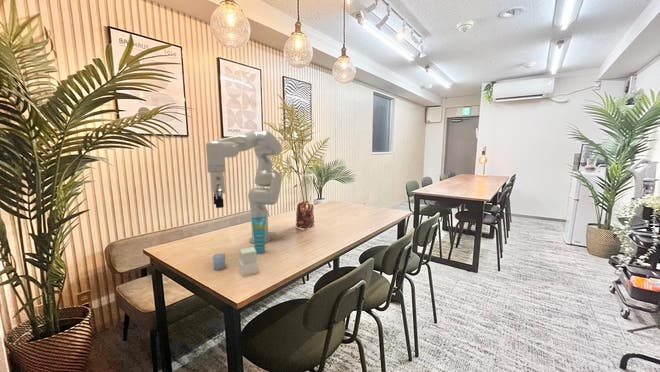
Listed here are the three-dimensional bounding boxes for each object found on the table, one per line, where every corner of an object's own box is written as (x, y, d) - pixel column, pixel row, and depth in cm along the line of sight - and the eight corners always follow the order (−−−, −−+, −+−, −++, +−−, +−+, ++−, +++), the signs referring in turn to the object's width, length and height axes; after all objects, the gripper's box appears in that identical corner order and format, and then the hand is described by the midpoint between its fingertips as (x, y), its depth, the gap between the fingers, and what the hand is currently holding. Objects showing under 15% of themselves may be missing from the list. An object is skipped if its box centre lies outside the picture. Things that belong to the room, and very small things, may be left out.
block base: (254, 266, 126) (254, 256, 125) (258, 272, 120) (258, 262, 119) (239, 270, 122) (238, 259, 122) (242, 276, 116) (241, 265, 116)
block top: (253, 257, 124) (253, 246, 124) (256, 261, 119) (256, 251, 118) (240, 260, 121) (239, 249, 121) (242, 264, 116) (242, 253, 116)
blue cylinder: (225, 264, 128) (224, 252, 127) (226, 269, 123) (225, 256, 123) (213, 267, 125) (212, 254, 125) (214, 271, 121) (213, 258, 120)
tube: (252, 254, 140) (250, 218, 137) (253, 251, 145) (251, 216, 142) (267, 253, 142) (265, 217, 139) (267, 249, 146) (265, 215, 144)
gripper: (227, 169, 118) (229, 208, 120) (222, 167, 133) (224, 202, 135) (209, 170, 114) (211, 210, 116) (206, 168, 129) (208, 203, 131)
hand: (218, 205), depth 126 cm, fingers open, 9 cm apart
